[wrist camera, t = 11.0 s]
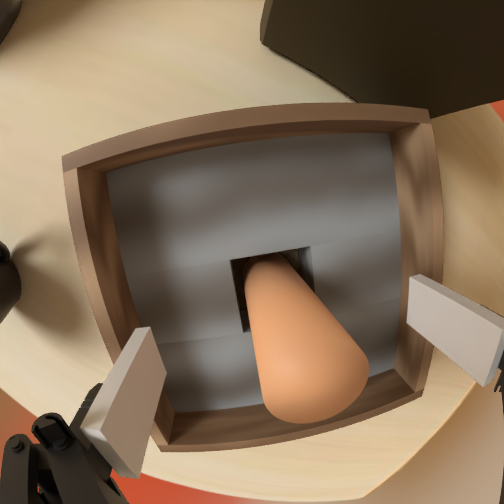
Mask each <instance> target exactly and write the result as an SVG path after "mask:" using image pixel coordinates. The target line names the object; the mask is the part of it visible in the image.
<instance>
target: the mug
mask: <svg viewBox="0 0 504 504" xmlns="http://www.w3.org/2000/svg"><path fill="white" fill-rule="evenodd" d="M20 294H21V282H20V277H19V274H18V271H17V269H16V267H15V265H14V263H13V262H12V261H11V260H10V252H9V250H8V248H7V247H6V245H5V244H3V243H2V242H1V241H0V323H1V322H2V321H3V320H4V318H5V317H6V316H7V314H8V313H9V312H10V310H11V309H12V307H13V306H14V304H15V303H16V302H17V301H18V299H19V297H20Z"/></svg>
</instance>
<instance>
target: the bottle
mask: <svg viewBox="0 0 504 504" xmlns="http://www.w3.org/2000/svg"><path fill="white" fill-rule="evenodd" d="M260 41H261V43H262V44H263V45H265V46H267V47H269V48H271V49H273V50H275V51H277V52H279V53H281V54H283V55H285V56H286V57H288V58H290V59H292V60H294V61H296V62H297V63H299V64H301V65H303V66H304V67H306V68H308V69H309V70H311V71H313V72H314V73H316V74H318V75H319V76H321V77H322V78H324V79H326V80H327V81H329V82H330V83H332V84H333V85H335V86H336V87H338V88H339V89H341V90H342V91H344V92H345V93H346V94H348V95H349V96H351V97H352V98H353V99H355V100H356V101H357V102H359V103H366V104H383V105H395V106H405V107H413V108H421V109H428V111H429V116H430V119H432V118H435V117H439V116H442V115H446V114H449V113H453V112H456V111H460V110H464V109H467V108H471V107H475V106H479V105H483V104H487V103H492V102H496V101H500V100H504V0H265V4H264V9H263V14H262V18H261V23H260Z"/></svg>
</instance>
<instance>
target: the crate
mask: <svg viewBox="0 0 504 504" xmlns="http://www.w3.org/2000/svg"><path fill="white" fill-rule="evenodd" d="M62 166H63V177H64V186H65V194H66V201H67V208H68V214H69V220H70V225H71V230H72V235H73V240H74V245H75V249H76V254H77V258H78V262H79V266H80V270H81V273H82V277H83V281H84V284H85V288H86V291H87V294H88V298H89V301H90V304H91V307H92V310H93V313H94V316H95V319H96V321H97V324H98V327H99V330H100V332H101V335H102V338H103V340H104V343H105V345H106V348H107V350H108V353H109V355H110V357H111V360H112V362H113V364H115V362H116V360H117V359H118V357H119V355H120V354H121V352H122V350H123V349H124V347H125V345H126V344H127V342H128V340H129V339H130V337H131V335H132V334H133V332H134V331H135V329H136V328H143V327H150V328H151V331H152V334H153V337H154V340H155V342H156V345H157V348H158V351H159V354H160V356H161V359H162V362H163V364H164V367H165V370H166V372H167V374H166V377H165V381H164V384H163V388H162V391H161V395H160V398H159V402H158V406H157V409H156V413H155V417H154V420H153V424H152V428H151V432H150V435H151V437H152V438H153V440H154V441H155V443H156V445H157V446H158V448H159V449H160V451H161V452H204V451H220V450H232V449H241V448H249V447H257V446H263V445H269V444H275V443H281V442H286V441H291V440H296V439H300V438H305V437H309V436H313V435H317V434H321V433H325V432H328V431H332V430H335V429H339V428H342V427H345V426H348V425H352V424H355V423H358V422H361V421H363V420H366V419H369V418H372V417H374V416H377V415H380V414H382V413H385V412H387V411H390V410H392V409H395V408H397V407H399V406H402V405H404V404H406V403H408V402H411V401H413V400H415V399H417V398H419V397H421V396H422V394H423V390H424V387H425V383H426V379H427V375H428V371H429V367H430V362H431V358H432V353H433V348H434V345H433V344H432V343H431V342H429V341H428V340H427V339H426V338H425V337H423V336H422V335H421V334H420V333H418V332H417V331H416V330H415V329H413V328H412V327H411V326H410V325H409V324H407V323H406V322H407V311H408V298H409V278H410V277H411V276H414V275H418V274H421V275H423V276H425V277H427V278H429V279H431V280H433V281H435V282H437V283H439V284H441V285H442V276H443V251H444V231H443V206H442V192H441V182H440V173H439V165H438V158H437V151H436V145H435V140H434V135H433V129H432V125H431V120H430V116H429V111H428V109H421V108H413V107H405V106H395V105H383V104H366V103H301V104H284V105H271V106H261V107H252V108H243V109H236V110H229V111H222V112H216V113H210V114H204V115H199V116H194V117H189V118H184V119H179V120H175V121H170V122H166V123H162V124H158V125H154V126H150V127H146V128H143V129H139V130H136V131H132V132H129V133H125V134H122V135H119V136H116V137H113V138H109V139H106V140H103V141H101V142H98V143H95V144H92V145H89V146H87V147H84V148H81V149H79V150H76V151H73V152H71V153H68V154H66V155H64V156H62ZM296 248H298V252H299V261H300V270H301V278H302V279H303V280H304V281H305V283H306V284H307V285H308V286H309V287H310V289H311V290H312V291H313V292H314V293H315V294H316V296H317V297H318V298H319V299H320V300H321V302H322V303H323V304H324V305H325V306H326V308H327V309H328V310H329V311H330V312H331V314H332V315H333V316H334V317H335V318H336V320H337V321H338V322H339V323H340V324H341V326H342V327H343V328H344V329H345V330H346V332H347V333H348V334H349V335H350V336H351V338H352V339H353V340H354V341H355V343H356V344H357V345H358V346H359V347H360V349H361V350H362V351H363V352H364V354H365V355H366V357H367V360H368V363H369V375H368V379H367V383H366V385H365V387H364V389H363V390H362V392H361V394H360V395H359V396H358V397H357V399H356V400H355V401H354V402H353V403H352V404H351V405H349V406H348V407H347V408H346V409H344V410H343V411H341V412H340V413H338V414H336V415H334V416H332V417H330V418H327V419H325V420H322V421H318V422H313V423H304V424H299V423H290V422H286V421H283V420H281V419H279V418H277V417H275V416H274V415H273V414H271V413H270V412H269V410H268V409H267V408H266V406H265V404H264V401H263V397H262V391H261V385H260V380H259V374H258V368H257V362H256V357H255V351H254V345H253V339H252V333H251V327H250V321H249V315H248V309H247V310H241V308H240V302H239V297H238V292H237V286H236V281H235V275H234V270H233V264H232V259H237V258H243V257H249V256H255V255H261V254H267V253H273V252H279V251H285V250H291V249H296Z"/></svg>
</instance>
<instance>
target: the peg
mask: <svg viewBox="0 0 504 504" xmlns="http://www.w3.org/2000/svg"><path fill="white" fill-rule="evenodd" d="M242 277H243V284H244V291H245V297H246V303H247V309H248V315H249V321H250V327H251V333H252V339H253V345H254V351H255V357H256V362H257V368H258V374H259V380H260V385H261V391H262V397H263V401H264V404H265V406H266V408H267V409H268V410H269V412H270V413H271V414H273V415H274V416H275V417H277V418H279V419H281V420H283V421H286V422H290V423H299V424H304V423H313V422H318V421H322V420H325V419H327V418H330V417H332V416H334V415H336V414H338V413H340V412H341V411H343V410H344V409H346V408H347V407H348V406H349V405H351V404H352V403H353V402H354V401H355V400H356V399H357V397H358V396H359V395H360V394H361V392H362V390H363V389H364V387H365V385H366V383H367V379H368V375H369V363H368V360H367V357H366V355H365V354H364V352H363V351H362V350H361V349H360V347H359V346H358V345H357V344H356V343H355V341H354V340H353V339H352V338H351V336H350V335H349V334H348V333H347V332H346V330H345V329H344V328H343V327H342V326H341V324H340V323H339V322H338V321H337V320H336V318H335V317H334V316H333V315H332V314H331V312H330V311H329V310H328V309H327V308H326V306H325V305H324V304H323V303H322V302H321V300H320V299H319V298H318V297H317V296H316V294H315V293H314V292H313V291H312V290H311V289H310V287H309V286H308V285H307V284H306V283H305V281H304V280H303V279H302V278H301V277H300V276H299V274H298V273H297V272H296V271H295V270H294V269H293V267H292V266H291V265H290V264H289V263H288V262H287V260H286V259H285V258H284V257H282V256H281V255H279V254H277V253H275V252H273V253H267V254H261V255H255V256H253V257H251V258H250V259H249V260H248V262H247V263H246V265H245V267H244V269H243V276H242Z"/></svg>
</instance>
